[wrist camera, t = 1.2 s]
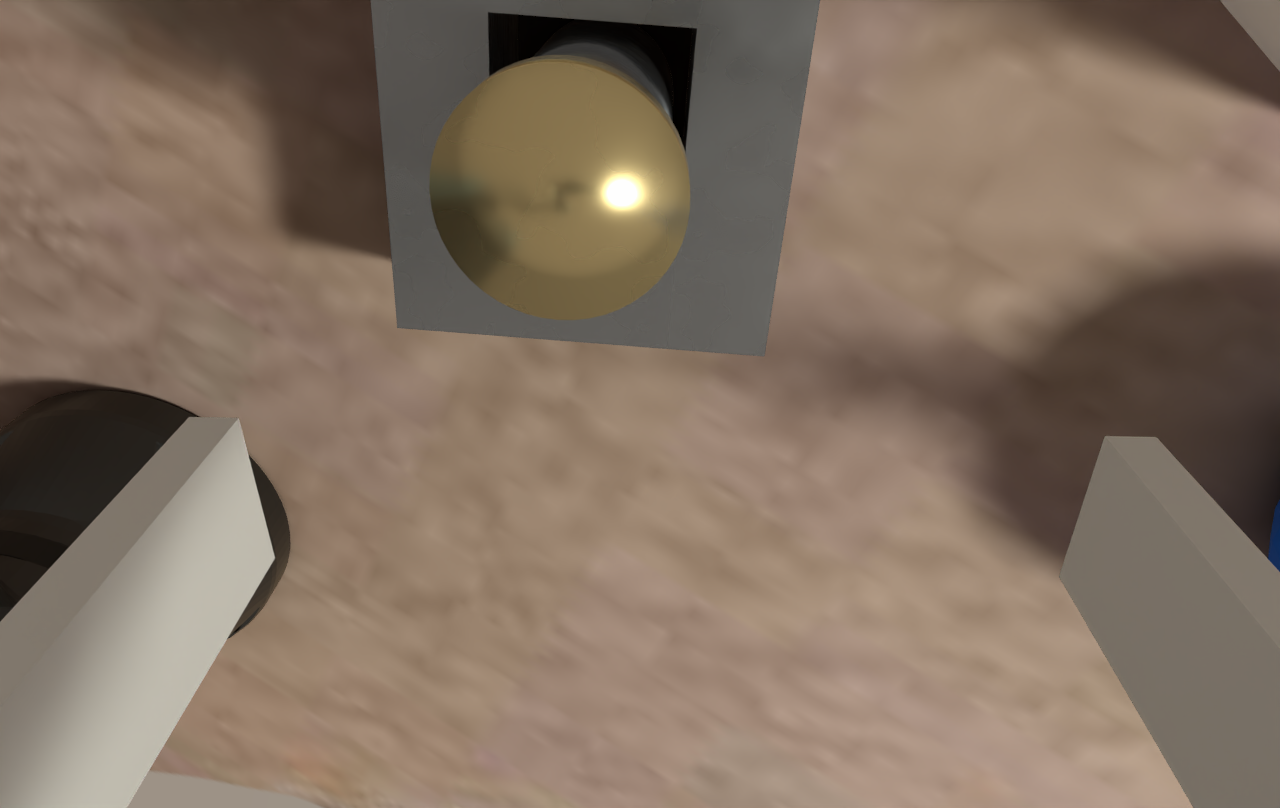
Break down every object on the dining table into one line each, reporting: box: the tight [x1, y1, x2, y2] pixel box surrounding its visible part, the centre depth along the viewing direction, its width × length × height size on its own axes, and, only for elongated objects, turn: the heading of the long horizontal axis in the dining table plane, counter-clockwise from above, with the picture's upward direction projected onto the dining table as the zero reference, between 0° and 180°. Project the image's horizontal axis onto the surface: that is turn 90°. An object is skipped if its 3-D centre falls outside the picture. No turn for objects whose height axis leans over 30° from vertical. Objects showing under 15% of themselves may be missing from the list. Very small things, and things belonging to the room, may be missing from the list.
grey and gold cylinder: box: [429, 19, 690, 320], centre depth 28 cm, size 7×7×14 cm
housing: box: [371, 0, 820, 356], centre depth 32 cm, size 14×16×6 cm
